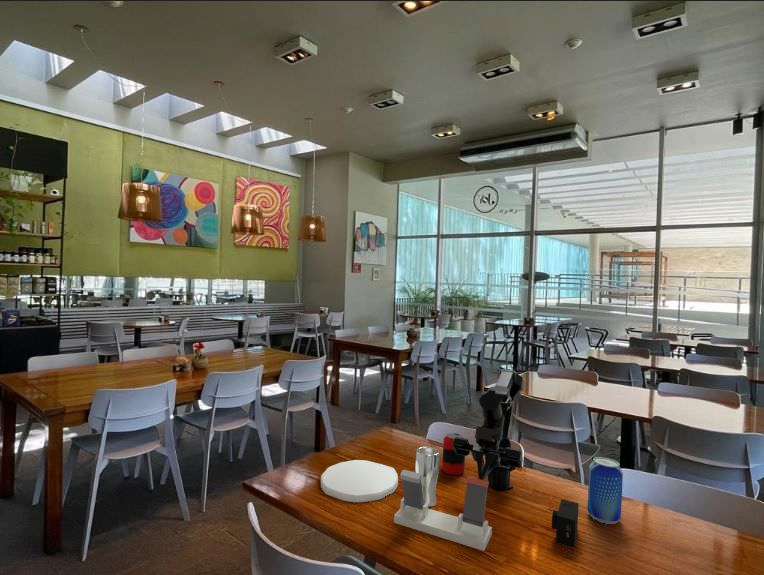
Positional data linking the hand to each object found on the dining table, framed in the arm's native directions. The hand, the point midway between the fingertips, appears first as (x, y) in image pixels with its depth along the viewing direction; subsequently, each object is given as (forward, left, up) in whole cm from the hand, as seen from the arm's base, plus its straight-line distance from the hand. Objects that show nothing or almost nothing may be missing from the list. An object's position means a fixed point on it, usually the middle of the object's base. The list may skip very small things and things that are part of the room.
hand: (480, 481), depth 115 cm
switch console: (+10, -3, -12) cm, 16 cm away
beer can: (-36, +11, -12) cm, 39 cm away
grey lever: (+15, -9, -8) cm, 19 cm away
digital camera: (-18, +12, -12) cm, 25 cm away
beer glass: (+6, -16, -12) cm, 21 cm away
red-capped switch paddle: (+5, +4, -8) cm, 10 cm away
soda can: (-15, -31, -12) cm, 37 cm away
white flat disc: (+19, -35, -12) cm, 42 cm away
